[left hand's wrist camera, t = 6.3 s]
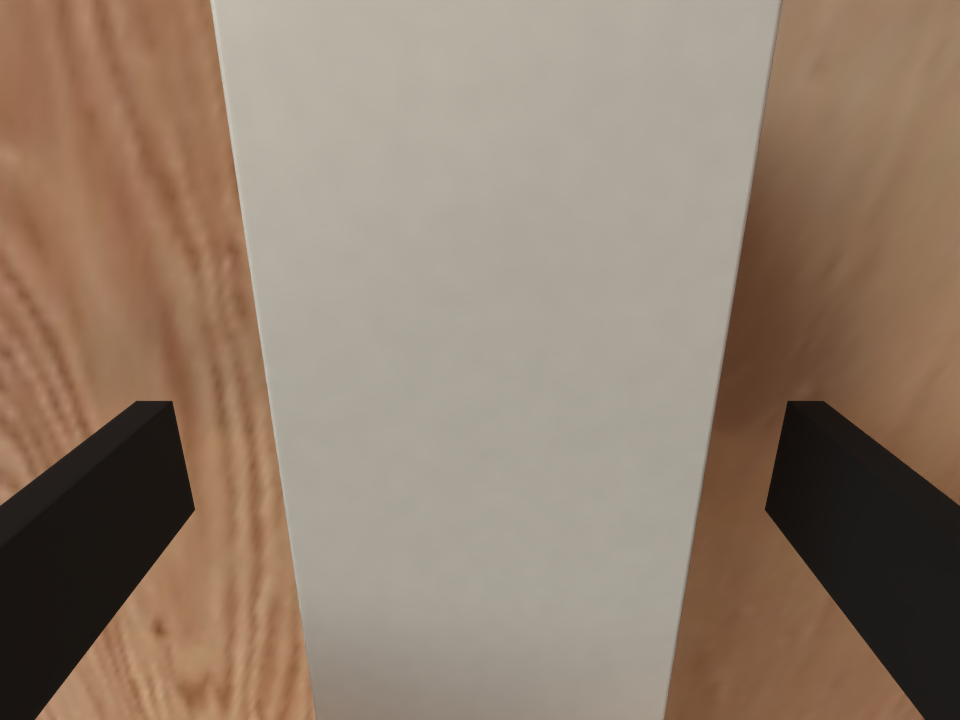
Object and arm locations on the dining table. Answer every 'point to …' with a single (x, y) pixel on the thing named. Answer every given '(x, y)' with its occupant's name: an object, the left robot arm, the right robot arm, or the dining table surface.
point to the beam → (493, 330)
